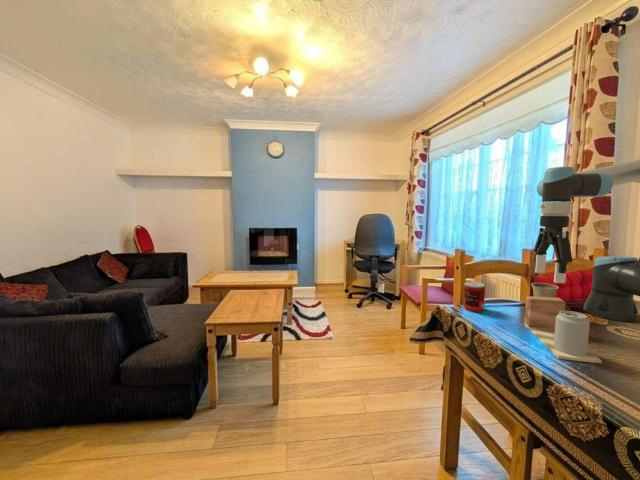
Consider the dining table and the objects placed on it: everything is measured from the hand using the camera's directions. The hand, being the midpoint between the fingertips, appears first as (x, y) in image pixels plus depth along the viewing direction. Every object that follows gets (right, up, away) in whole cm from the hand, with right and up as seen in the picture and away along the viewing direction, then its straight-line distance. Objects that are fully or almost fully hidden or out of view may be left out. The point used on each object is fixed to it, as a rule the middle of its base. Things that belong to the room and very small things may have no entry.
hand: (549, 277), depth 98 cm
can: (-4, -21, -12) cm, 25 cm away
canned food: (-13, -17, +24) cm, 32 cm away
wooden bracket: (-2, -20, -6) cm, 21 cm away
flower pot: (+19, -16, +27) cm, 37 cm away
